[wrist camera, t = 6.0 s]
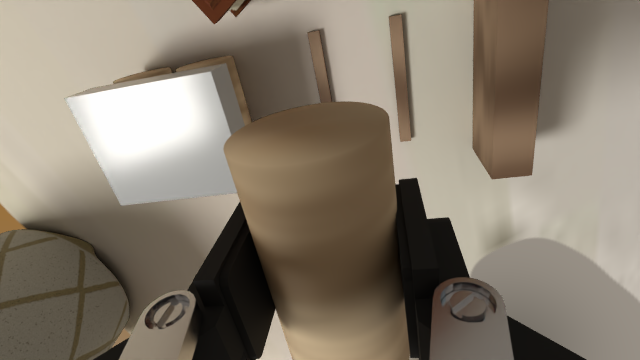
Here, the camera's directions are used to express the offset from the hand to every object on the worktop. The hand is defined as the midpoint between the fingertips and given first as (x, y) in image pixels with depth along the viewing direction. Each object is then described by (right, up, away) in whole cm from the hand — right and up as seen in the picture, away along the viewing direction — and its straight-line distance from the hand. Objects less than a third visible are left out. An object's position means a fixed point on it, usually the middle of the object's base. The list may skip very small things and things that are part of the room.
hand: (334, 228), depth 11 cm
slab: (-11, +5, +14) cm, 18 cm away
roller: (0, 0, +1) cm, 1 cm away
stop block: (+11, +9, +13) cm, 20 cm away
